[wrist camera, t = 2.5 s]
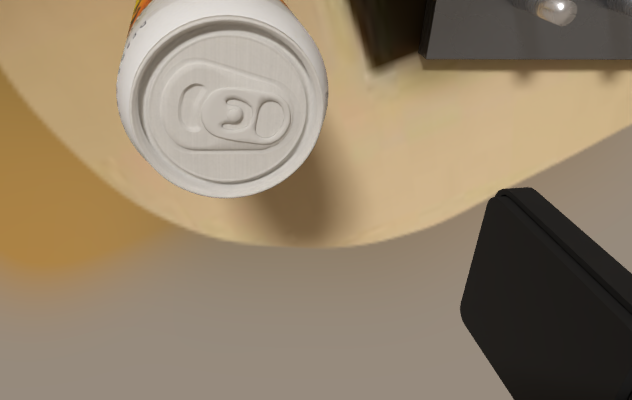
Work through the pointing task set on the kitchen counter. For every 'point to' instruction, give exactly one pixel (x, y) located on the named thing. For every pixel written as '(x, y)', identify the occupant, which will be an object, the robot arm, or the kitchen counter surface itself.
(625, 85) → the kitchen counter surface
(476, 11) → the plate
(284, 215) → the kitchen counter surface
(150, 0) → the beer can
